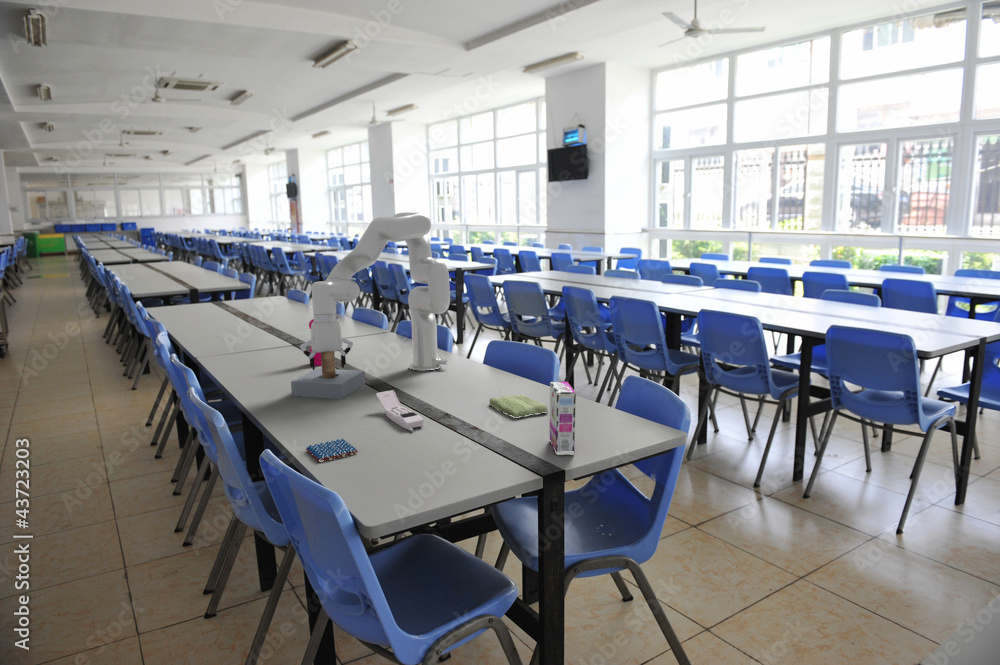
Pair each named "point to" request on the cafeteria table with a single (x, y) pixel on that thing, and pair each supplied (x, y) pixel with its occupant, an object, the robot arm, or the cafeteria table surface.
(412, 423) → the mobile phone
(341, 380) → the socket block
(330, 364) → the peg
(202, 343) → the cafeteria table surface
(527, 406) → the washcloth
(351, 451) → the woven mat
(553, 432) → the candy bar box
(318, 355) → the pepper mill
